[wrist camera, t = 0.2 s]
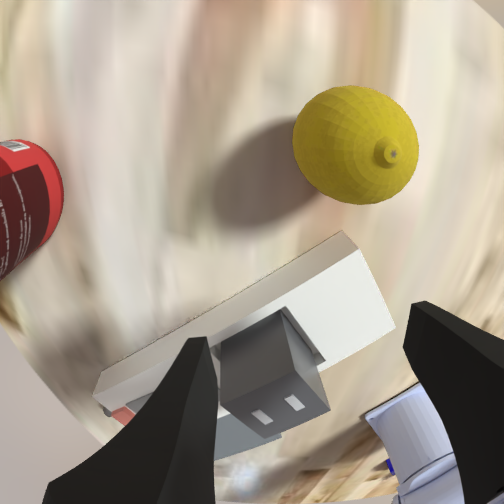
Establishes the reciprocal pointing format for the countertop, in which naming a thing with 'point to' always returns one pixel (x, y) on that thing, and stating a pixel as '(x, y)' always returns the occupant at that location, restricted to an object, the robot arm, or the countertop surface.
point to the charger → (270, 377)
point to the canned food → (26, 201)
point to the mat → (236, 437)
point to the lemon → (355, 145)
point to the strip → (258, 307)
